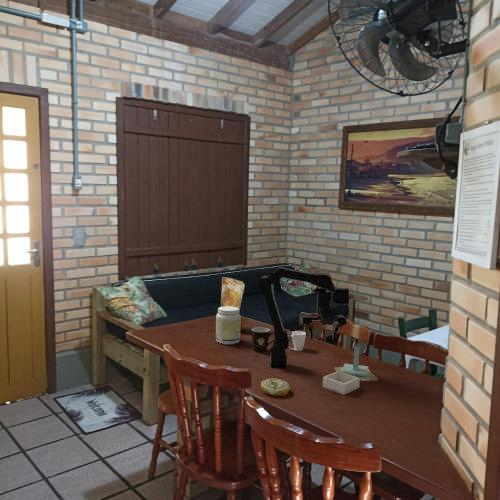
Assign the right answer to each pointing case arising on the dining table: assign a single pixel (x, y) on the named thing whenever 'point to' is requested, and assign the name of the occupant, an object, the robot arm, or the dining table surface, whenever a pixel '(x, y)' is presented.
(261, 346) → the coffee mug
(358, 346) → the lid
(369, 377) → the board
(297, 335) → the cup
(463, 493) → the dining table surface
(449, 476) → the dining table surface
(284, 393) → the decorated donut
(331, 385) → the tub
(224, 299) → the pancake mix bag
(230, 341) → the supplement tub
